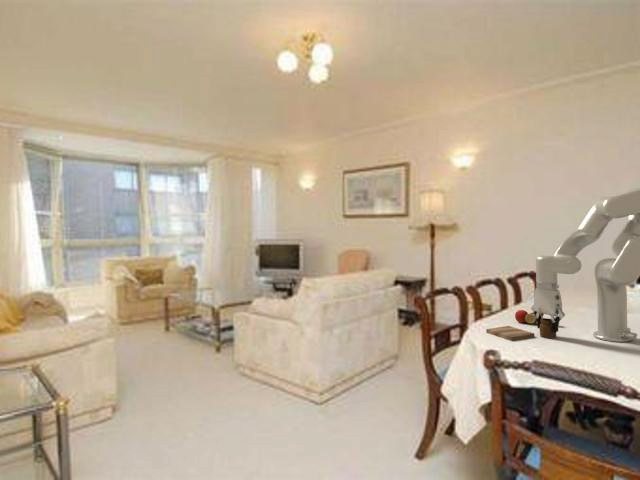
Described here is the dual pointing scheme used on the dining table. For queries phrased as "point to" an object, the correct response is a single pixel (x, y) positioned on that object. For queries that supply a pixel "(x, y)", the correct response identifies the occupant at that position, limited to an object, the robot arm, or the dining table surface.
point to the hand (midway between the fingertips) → (547, 329)
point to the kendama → (526, 317)
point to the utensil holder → (546, 328)
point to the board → (510, 333)
